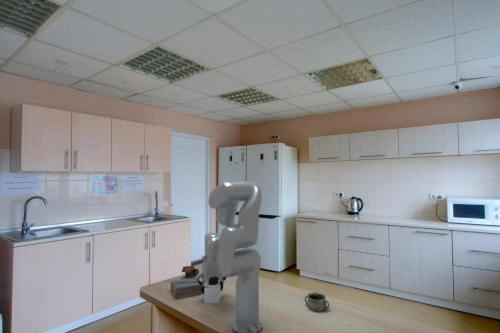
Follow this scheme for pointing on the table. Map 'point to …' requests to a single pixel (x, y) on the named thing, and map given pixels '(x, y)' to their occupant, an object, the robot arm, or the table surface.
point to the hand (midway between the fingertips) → (212, 291)
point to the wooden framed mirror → (185, 288)
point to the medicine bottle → (212, 291)
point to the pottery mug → (190, 272)
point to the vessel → (316, 301)
